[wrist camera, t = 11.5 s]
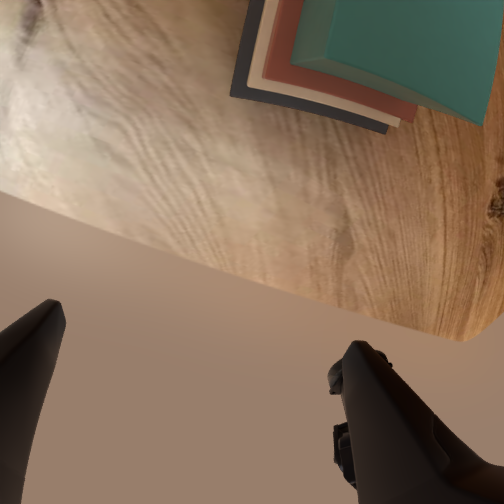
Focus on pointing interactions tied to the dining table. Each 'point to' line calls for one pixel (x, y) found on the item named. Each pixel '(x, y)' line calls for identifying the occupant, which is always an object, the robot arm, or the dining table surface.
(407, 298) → the dining table surface
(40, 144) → the dining table surface
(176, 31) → the dining table surface
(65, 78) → the dining table surface
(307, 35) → the toy cube
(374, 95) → the stack
